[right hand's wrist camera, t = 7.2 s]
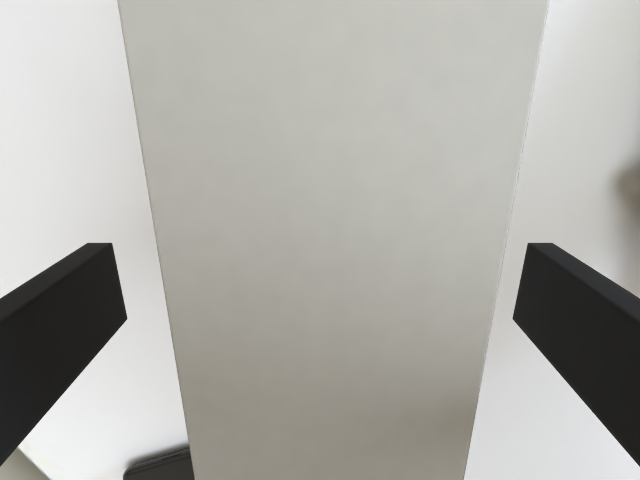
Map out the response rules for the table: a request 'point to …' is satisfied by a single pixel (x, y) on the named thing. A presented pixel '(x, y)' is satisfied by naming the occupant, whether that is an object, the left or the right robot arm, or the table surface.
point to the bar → (331, 221)
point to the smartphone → (163, 468)
